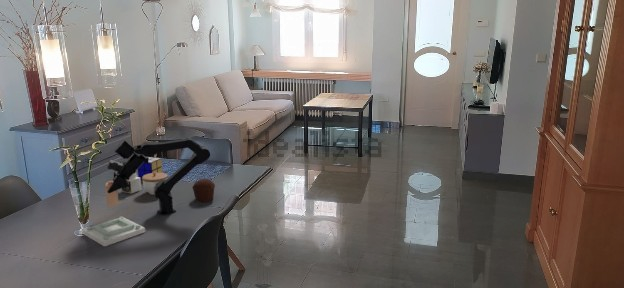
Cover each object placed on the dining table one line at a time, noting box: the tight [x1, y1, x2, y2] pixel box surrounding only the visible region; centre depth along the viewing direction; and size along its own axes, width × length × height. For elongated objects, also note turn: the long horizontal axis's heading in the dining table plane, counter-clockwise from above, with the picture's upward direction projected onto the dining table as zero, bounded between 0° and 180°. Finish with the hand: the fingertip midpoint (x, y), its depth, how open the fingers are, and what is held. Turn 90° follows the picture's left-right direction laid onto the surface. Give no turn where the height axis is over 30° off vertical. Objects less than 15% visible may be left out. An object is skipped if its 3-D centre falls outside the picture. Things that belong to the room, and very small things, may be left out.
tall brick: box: [105, 180, 119, 207], centre depth 212 cm, size 4×4×11 cm
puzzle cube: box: [137, 156, 163, 179], centre depth 276 cm, size 10×10×10 cm
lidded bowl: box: [141, 172, 168, 196], centre depth 248 cm, size 13×13×11 cm
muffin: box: [192, 178, 216, 203], centre depth 240 cm, size 12×11×10 cm
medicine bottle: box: [121, 172, 142, 194], centre depth 250 cm, size 7×7×12 cm
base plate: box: [82, 216, 146, 247], centre depth 199 cm, size 18×18×4 cm
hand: (108, 190), depth 211 cm, fingers closed on tall brick, 4 cm apart
